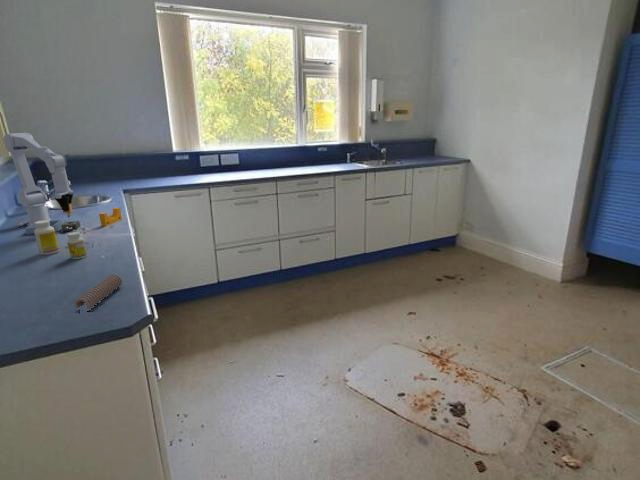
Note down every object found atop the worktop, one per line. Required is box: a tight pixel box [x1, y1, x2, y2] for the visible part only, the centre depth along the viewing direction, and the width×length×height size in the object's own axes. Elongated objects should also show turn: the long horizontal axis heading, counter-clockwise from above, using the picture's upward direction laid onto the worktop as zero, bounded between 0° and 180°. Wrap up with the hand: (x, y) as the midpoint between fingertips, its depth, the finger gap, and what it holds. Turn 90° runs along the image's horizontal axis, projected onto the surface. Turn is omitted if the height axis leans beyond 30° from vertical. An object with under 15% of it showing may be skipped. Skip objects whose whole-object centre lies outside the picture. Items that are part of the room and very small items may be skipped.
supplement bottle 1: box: [33, 220, 60, 256], centre depth 151 cm, size 7×7×13 cm
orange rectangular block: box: [63, 203, 73, 218], centre depth 183 cm, size 3×3×6 cm
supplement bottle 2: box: [66, 231, 88, 260], centre depth 147 cm, size 5×5×10 cm
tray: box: [24, 219, 64, 236], centre depth 183 cm, size 11×11×3 cm
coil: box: [74, 273, 123, 309], centre depth 114 cm, size 5×5×18 cm
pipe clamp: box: [98, 207, 123, 227], centre depth 193 cm, size 12×4×6 cm, turn 171°
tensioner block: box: [61, 220, 81, 234], centre depth 183 cm, size 11×6×3 cm, turn 15°
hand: (67, 210), depth 183 cm, fingers closed on orange rectangular block, 3 cm apart
